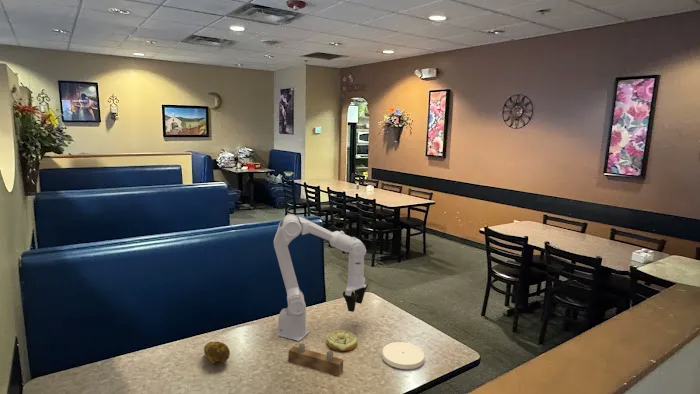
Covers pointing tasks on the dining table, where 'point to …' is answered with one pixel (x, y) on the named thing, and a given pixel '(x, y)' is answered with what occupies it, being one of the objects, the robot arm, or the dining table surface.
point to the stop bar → (315, 360)
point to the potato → (216, 352)
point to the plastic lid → (403, 355)
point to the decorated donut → (341, 340)
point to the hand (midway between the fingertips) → (355, 306)
